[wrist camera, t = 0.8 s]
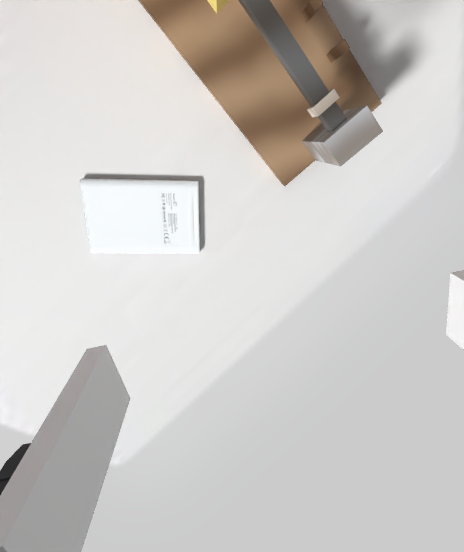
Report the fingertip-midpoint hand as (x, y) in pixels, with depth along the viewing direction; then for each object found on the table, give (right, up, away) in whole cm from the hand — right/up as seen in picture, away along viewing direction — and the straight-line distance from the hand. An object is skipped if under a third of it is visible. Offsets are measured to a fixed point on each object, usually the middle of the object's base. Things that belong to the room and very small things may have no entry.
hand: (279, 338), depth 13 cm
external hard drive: (-12, +9, +25) cm, 29 cm away
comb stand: (0, +25, +18) cm, 31 cm away
